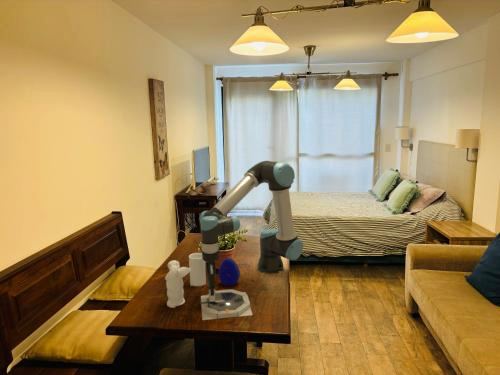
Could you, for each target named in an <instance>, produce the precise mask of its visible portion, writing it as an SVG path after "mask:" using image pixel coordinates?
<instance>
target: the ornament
mask: <svg viewBox="0 0 500 375" xmlns="http://www.w3.org/2000/svg"><path fill="white" fill-rule="evenodd" d="M240 278H241V270H240V268H239V266H238V263H236V261H235V260H234V259H233V258H230V257H227V258H225V259H224V260H223V261H222V262H221V264H220V266H219V269H218V279H219V281H220V284H222V285H224V286H226V287H232V286H234V285H236V284H237V283H238V281H239V280H240Z"/></svg>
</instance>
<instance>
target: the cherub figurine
mask: <svg viewBox="0 0 500 375" xmlns="http://www.w3.org/2000/svg"><path fill="white" fill-rule="evenodd" d="M167 267H168V270H169V271H168V272H167V274H166V275H165V277H164V280H165V281H166V282H165V283H166V289H167V291H166V296H167V298H168V300H167V302H166V305H167V307H168V308H171V309H172V308H176V307H178V306H181V305H183V304H185V302H186V299H185V298H184V296H185V294H184V293H185V290H184V281H183V278H185V277H186V276H187V275H188V274H190V271H191V268H190V267H188V266H187V267H186V266H182V267H181V266H180V262H179V261H178V260H175V259H174V260H170V261H169V262H168V263H167Z"/></svg>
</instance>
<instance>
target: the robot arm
mask: <svg viewBox="0 0 500 375" xmlns="http://www.w3.org/2000/svg"><path fill="white" fill-rule="evenodd" d="M295 177H296V175H295V170H294V168H293V167H292V165H290V164H289V163H286V162H284V161H271V160H264V161H260V162H257V163H256V164H254V165H253V166H252V167H250V168H249V169H248V170H246V172H245V173H244V174H243V178H241V180H239V181H238V182H237V184H235V185H234V186H233V187H232V188H231V189H230V190H229V191H228V192H227V193H226V194H225V195H224V196H223V197H222V198H221V199H220V200H219V201H218V202H217V203H215V205H214V206H213V207H212V208H211V209H209V210H204V211H202V212H201V213H200V215H199V218H198V219H199V222H200V233H201V234H200V236H201V237H200V238H201V244H199V246H200V247H201V250H202V251H201V253H202V259H203V260H204V261H205V266H206V271H207V272H206V273H207V277H208V278H207V283H208V282H209V287H207V290H208V294H209V302H213V301H215V291H216V283H217V282H216V279H215V278H216V276H215V274H216V262H215V261H218V260H219V258H220V251H219V250H220V247H219V246H220V245H219V244H220V243H219V241H220V240H219V237H220V236H225V235H228V234H233V233H235V232H238V231H239V230H240V228H241V221H240V218H238V216H237V215H229V216H227V215H228V214H229V213H231V211H232V210H233V209H234V208H235V207H237V205H239V203H241V201H242V200H243V199H244V198H245V197H246V196H247V195H249V193H250V192H251V191H252V190H254V188H258V187H259V186H260V185H261V184H264V183H265V184H267V185H268V190H269V191H270V192H272V198H273V199H272V200H273V204H274V212H275V213H274V214H275V219H276V228H268V229H267V228H266V229H263V230H262V231H260V235H259V236H260V237H259V247H260V248H259V249H260V251H259V252H260V253H259V254H260V255H259V258H258V262H257V270H258V271H259V272H260V273H264V274H278V273H280V272H283V270H284V268H285V266H284V262H283V258H285V259H286V260H291V261H294V260H297V259H298V258H299V257H300V256H301V254H302V253H303V250H304V242H303V241H302V240H301V239H299V236H298V232H297V231H295V228H294V220H293V212H292V205H291V198H290V189H291V188H292V185H293V183H294V181H295Z"/></svg>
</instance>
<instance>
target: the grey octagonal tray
mask: <svg viewBox="0 0 500 375" xmlns="http://www.w3.org/2000/svg"><path fill="white" fill-rule="evenodd" d="M220 293H233V294H237V295H239V296H240V297H241V298H242V301H243V305H241V306H240V307H238V308H237V309H235V310H228V309H226V311H217V310H214V309H212V308H209V307H208V300H209V293H207V294H206V295H205V294H204V295H201V296H200V301H199V304H200V305H201V317H202V318H201V320H202V321H206V320H209V321H210V320H217V319H219V320H220V319H228V318H235V317H236V318H237V317H245V316H246V317H247V316H253V312H252V309H251V302H250V299H249V296H248V294H247V293H246V291H238V290H236V289H230V288H229V289H220V290H215V295H216V294H220Z"/></svg>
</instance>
